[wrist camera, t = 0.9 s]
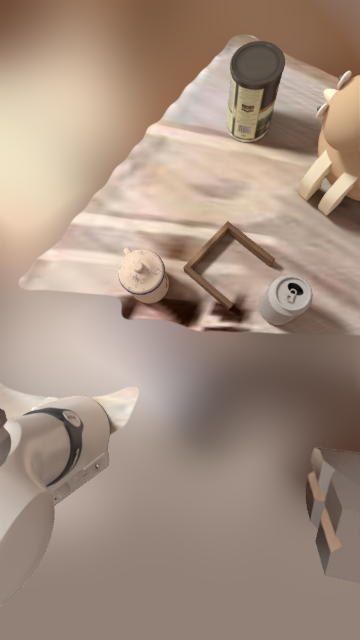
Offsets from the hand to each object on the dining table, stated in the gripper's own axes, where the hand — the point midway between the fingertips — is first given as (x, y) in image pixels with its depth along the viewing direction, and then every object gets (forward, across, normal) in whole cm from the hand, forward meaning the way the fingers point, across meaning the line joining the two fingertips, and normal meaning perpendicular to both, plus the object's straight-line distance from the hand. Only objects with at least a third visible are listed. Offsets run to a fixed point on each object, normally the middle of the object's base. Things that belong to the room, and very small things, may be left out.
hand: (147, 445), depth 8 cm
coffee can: (+77, +4, +27) cm, 82 cm away
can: (+55, +12, -12) cm, 58 cm away
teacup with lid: (+56, -16, -7) cm, 59 cm away
